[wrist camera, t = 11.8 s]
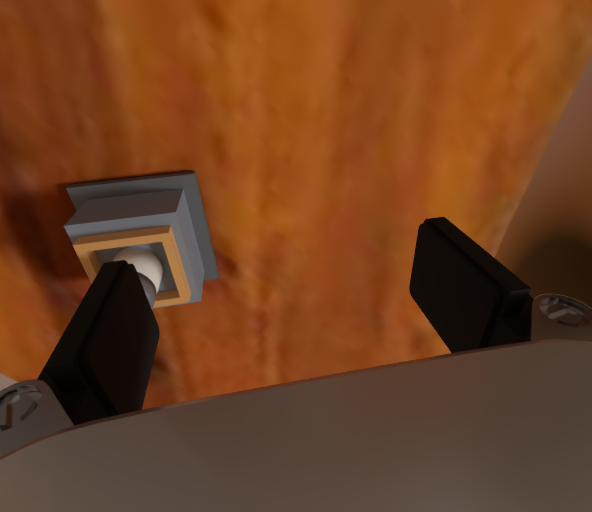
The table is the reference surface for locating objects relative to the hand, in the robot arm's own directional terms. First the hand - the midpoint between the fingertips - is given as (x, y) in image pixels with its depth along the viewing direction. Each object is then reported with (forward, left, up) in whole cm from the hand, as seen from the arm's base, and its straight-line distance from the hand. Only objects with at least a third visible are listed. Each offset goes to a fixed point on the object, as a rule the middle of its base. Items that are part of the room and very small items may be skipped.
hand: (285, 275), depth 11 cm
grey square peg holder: (+12, -13, -28) cm, 33 cm away
